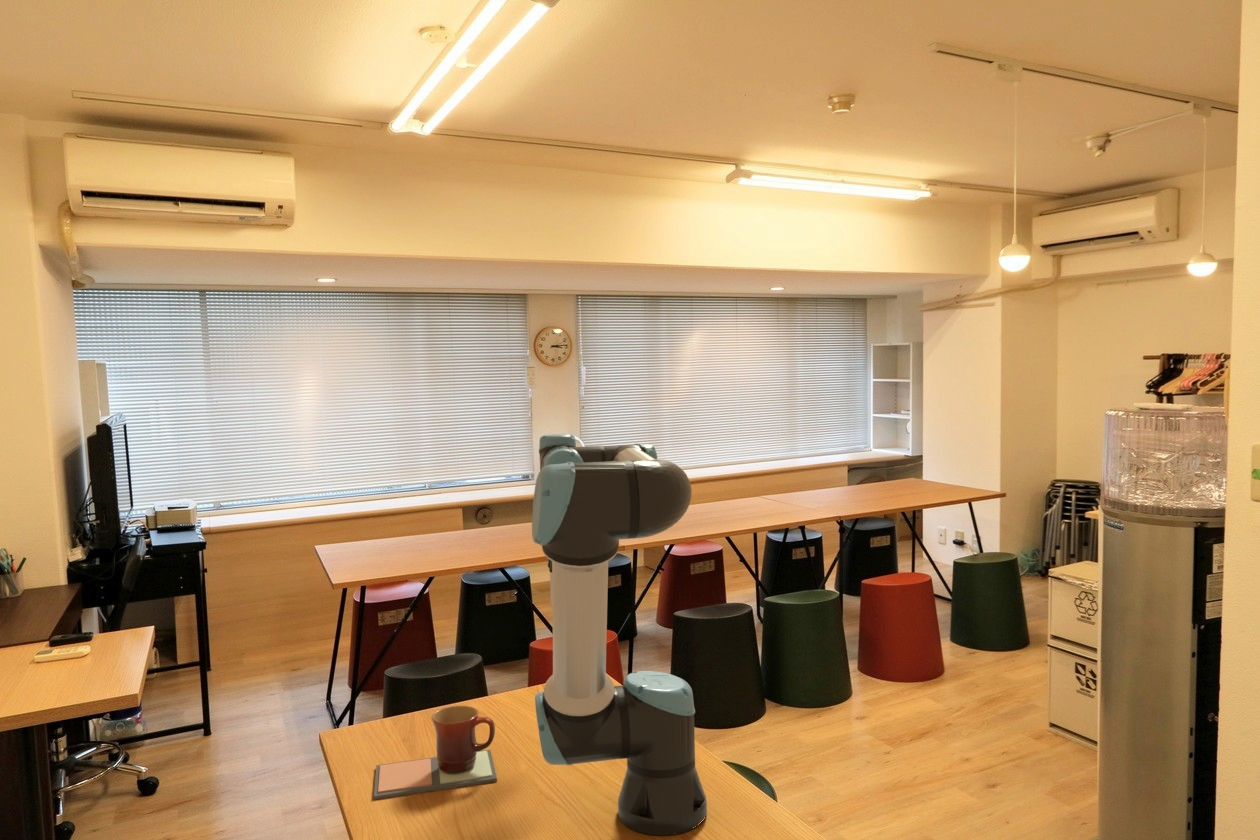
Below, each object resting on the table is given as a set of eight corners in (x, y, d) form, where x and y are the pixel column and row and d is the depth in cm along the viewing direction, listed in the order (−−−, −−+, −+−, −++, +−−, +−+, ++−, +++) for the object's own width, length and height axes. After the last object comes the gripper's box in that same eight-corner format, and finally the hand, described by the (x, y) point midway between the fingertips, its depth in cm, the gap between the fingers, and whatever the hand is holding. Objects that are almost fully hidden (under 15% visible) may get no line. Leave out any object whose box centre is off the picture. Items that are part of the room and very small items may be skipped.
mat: (496, 781, 157) (496, 776, 157) (373, 799, 151) (373, 794, 151) (490, 752, 169) (490, 748, 169) (376, 768, 164) (376, 763, 164)
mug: (427, 777, 157) (425, 723, 157) (442, 756, 166) (440, 705, 166) (489, 778, 156) (487, 723, 156) (501, 757, 165) (499, 705, 164)
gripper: (590, 516, 162) (593, 625, 163) (566, 500, 186) (569, 595, 187) (551, 519, 160) (555, 629, 161) (532, 502, 184) (536, 598, 185)
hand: (563, 611), depth 174 cm, fingers open, 13 cm apart
